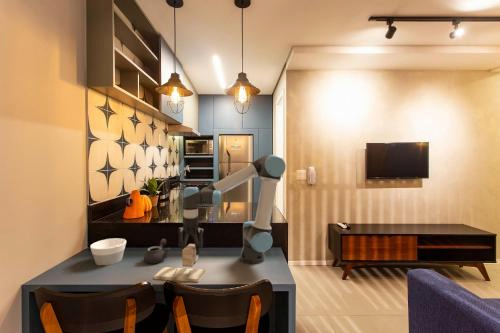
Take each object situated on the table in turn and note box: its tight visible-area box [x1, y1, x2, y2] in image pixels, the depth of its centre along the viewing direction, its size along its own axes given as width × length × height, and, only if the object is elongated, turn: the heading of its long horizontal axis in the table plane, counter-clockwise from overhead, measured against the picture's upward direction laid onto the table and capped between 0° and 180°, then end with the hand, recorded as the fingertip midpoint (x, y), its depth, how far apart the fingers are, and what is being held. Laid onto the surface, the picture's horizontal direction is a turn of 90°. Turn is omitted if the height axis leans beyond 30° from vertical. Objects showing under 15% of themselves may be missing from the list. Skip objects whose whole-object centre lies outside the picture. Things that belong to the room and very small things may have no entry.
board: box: [153, 266, 207, 283], centre depth 136 cm, size 24×11×2 cm, turn 82°
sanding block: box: [181, 243, 199, 268], centre depth 135 cm, size 9×5×8 cm, turn 170°
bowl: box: [90, 237, 127, 266], centre depth 155 cm, size 19×19×11 cm
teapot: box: [143, 238, 171, 264], centre depth 158 cm, size 19×15×10 cm
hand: (190, 260), depth 135 cm, fingers closed on sanding block, 5 cm apart
